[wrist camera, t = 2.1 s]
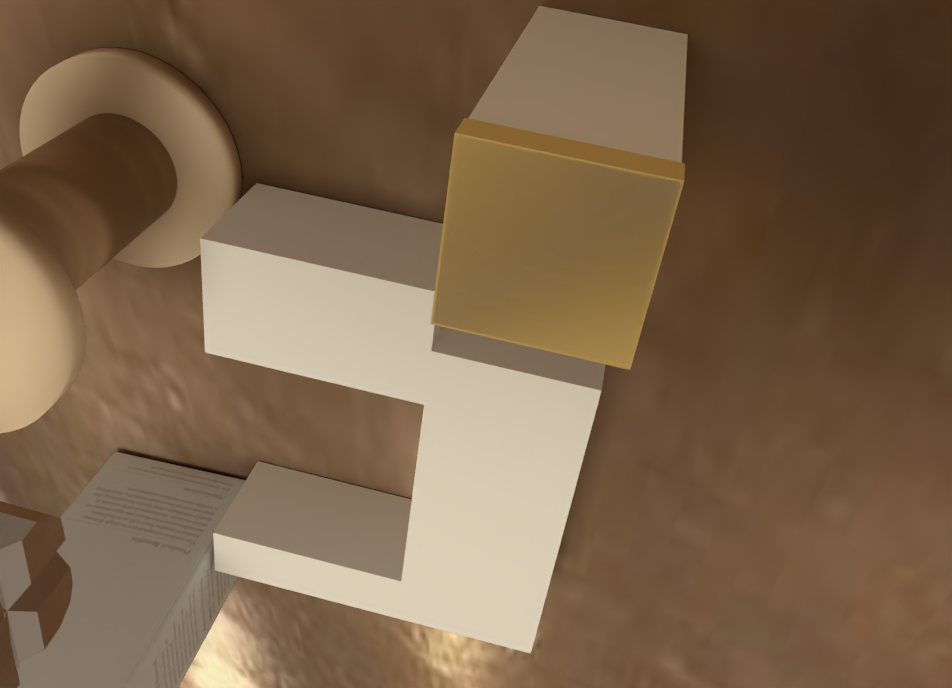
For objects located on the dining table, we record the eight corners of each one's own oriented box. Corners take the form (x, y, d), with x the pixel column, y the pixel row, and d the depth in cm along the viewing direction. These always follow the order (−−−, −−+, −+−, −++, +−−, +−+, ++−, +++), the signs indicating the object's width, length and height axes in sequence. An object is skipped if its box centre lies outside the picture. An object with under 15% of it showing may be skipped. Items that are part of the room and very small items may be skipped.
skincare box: (127, 519, 39) (-66, 779, 29) (114, 441, 37) (-102, 695, 27) (261, 550, 39) (109, 827, 29) (257, 473, 36) (90, 746, 26)
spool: (240, 72, 27) (39, 212, 19) (243, 273, 31) (78, 461, 23) (23, 26, 28) (-262, 143, 19) (53, 229, 32) (-173, 397, 23)
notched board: (627, 264, 28) (617, 332, 25) (546, 570, 36) (530, 653, 32) (256, 183, 29) (199, 238, 26) (257, 497, 37) (214, 570, 34)
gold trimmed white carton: (689, 32, 24) (684, 181, 16) (651, 175, 26) (629, 369, 18) (538, 3, 24) (454, 132, 16) (513, 147, 27) (430, 324, 18)
